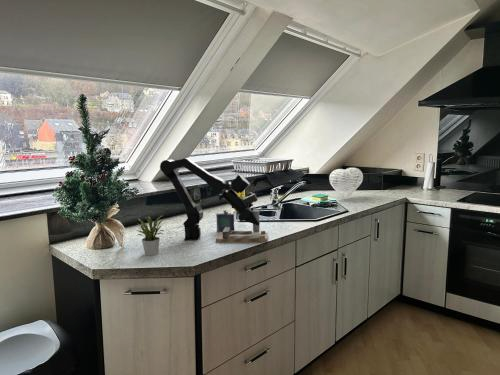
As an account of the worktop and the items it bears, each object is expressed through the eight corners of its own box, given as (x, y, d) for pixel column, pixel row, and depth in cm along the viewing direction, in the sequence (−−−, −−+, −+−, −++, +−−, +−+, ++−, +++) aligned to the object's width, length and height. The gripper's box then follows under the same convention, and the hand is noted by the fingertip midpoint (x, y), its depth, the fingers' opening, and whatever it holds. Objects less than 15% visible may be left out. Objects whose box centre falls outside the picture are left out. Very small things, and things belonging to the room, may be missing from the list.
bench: (215, 242, 173) (215, 232, 172) (219, 235, 184) (219, 226, 183) (267, 242, 171) (267, 232, 171) (267, 235, 182) (267, 226, 182)
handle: (251, 237, 174) (251, 212, 172) (252, 233, 180) (252, 209, 179) (260, 237, 173) (260, 212, 172) (261, 233, 180) (260, 209, 178)
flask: (216, 231, 192) (215, 210, 191) (218, 230, 195) (217, 209, 193) (233, 232, 189) (232, 211, 188) (235, 231, 192) (235, 210, 190)
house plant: (175, 247, 166) (173, 210, 164) (169, 257, 152) (167, 217, 150) (141, 248, 166) (139, 211, 163) (132, 258, 152) (130, 218, 150)
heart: (348, 195, 289) (349, 166, 286) (366, 198, 277) (367, 167, 274) (324, 200, 271) (324, 169, 268) (342, 203, 259) (343, 170, 256)
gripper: (245, 190, 165) (271, 216, 166) (248, 184, 183) (271, 207, 184) (227, 209, 166) (253, 233, 167) (232, 201, 185) (255, 223, 186)
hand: (259, 223), depth 176 cm, fingers closed on handle, 3 cm apart
